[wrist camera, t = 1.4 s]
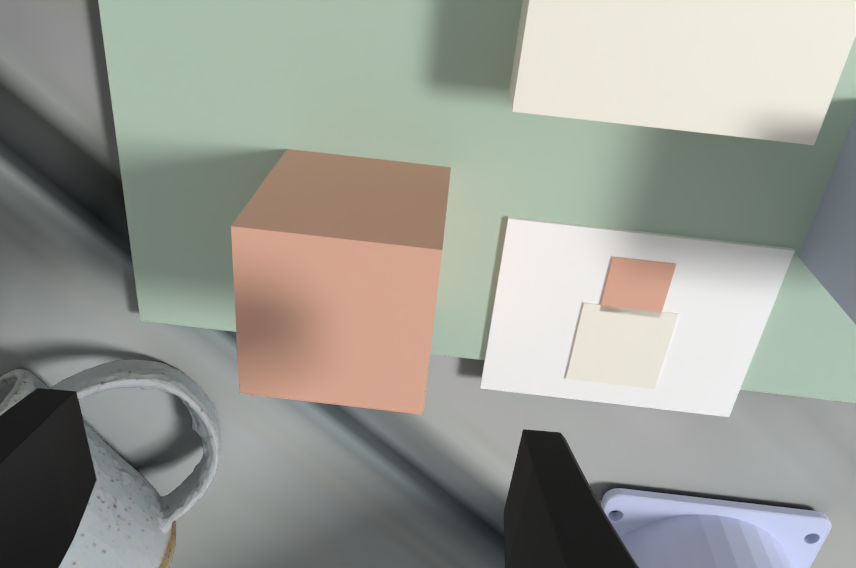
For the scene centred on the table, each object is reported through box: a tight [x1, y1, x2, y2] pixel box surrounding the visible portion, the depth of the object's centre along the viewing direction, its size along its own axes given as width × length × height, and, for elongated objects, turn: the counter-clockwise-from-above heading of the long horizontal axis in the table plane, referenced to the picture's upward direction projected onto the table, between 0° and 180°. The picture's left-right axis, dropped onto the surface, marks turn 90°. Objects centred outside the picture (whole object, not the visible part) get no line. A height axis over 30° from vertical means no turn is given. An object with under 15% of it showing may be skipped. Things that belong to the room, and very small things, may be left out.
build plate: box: [98, 0, 856, 403], centre depth 19 cm, size 16×23×1 cm
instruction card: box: [480, 216, 795, 417], centre depth 21 cm, size 6×8×1 cm
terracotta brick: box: [231, 149, 451, 415], centre depth 18 cm, size 4×4×5 cm
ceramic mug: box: [0, 359, 221, 568], centre depth 23 cm, size 11×8×8 cm
